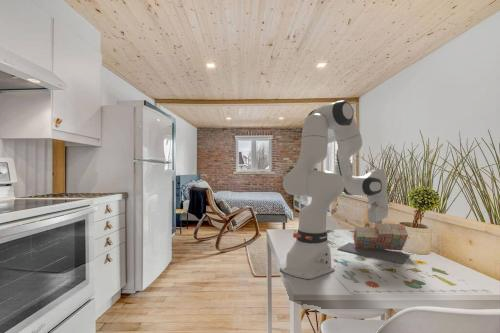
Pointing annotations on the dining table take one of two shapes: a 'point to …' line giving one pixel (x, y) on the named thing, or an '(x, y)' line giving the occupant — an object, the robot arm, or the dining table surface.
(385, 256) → the charcoal rubber mat
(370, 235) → the stack of blocks
